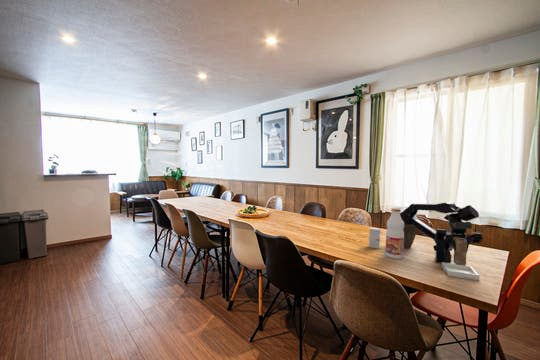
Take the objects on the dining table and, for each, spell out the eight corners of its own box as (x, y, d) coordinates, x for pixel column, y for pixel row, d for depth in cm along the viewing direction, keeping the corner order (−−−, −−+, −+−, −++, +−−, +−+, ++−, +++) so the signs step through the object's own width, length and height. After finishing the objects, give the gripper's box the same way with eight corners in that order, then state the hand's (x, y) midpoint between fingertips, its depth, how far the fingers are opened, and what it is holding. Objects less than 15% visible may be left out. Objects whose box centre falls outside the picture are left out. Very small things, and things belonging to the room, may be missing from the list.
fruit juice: (407, 259, 142) (408, 210, 140) (391, 259, 141) (393, 210, 140) (397, 253, 151) (398, 207, 150) (382, 253, 150) (383, 207, 149)
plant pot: (415, 252, 154) (416, 226, 153) (389, 247, 163) (390, 222, 162) (418, 246, 166) (419, 222, 165) (394, 241, 175) (394, 219, 174)
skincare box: (368, 247, 163) (369, 228, 162) (369, 245, 167) (370, 227, 166) (379, 248, 160) (379, 230, 159) (379, 246, 164) (380, 228, 163)
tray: (447, 275, 120) (448, 270, 120) (442, 266, 131) (442, 262, 131) (479, 280, 115) (479, 275, 115) (470, 270, 126) (470, 265, 126)
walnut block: (455, 264, 122) (457, 240, 121) (453, 261, 126) (454, 238, 125) (465, 265, 120) (467, 241, 120) (463, 262, 124) (464, 239, 123)
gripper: (437, 213, 129) (441, 240, 119) (483, 216, 121) (491, 245, 112) (433, 225, 137) (437, 251, 127) (476, 229, 129) (483, 257, 120)
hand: (461, 251), depth 121 cm, fingers closed on walnut block, 4 cm apart
